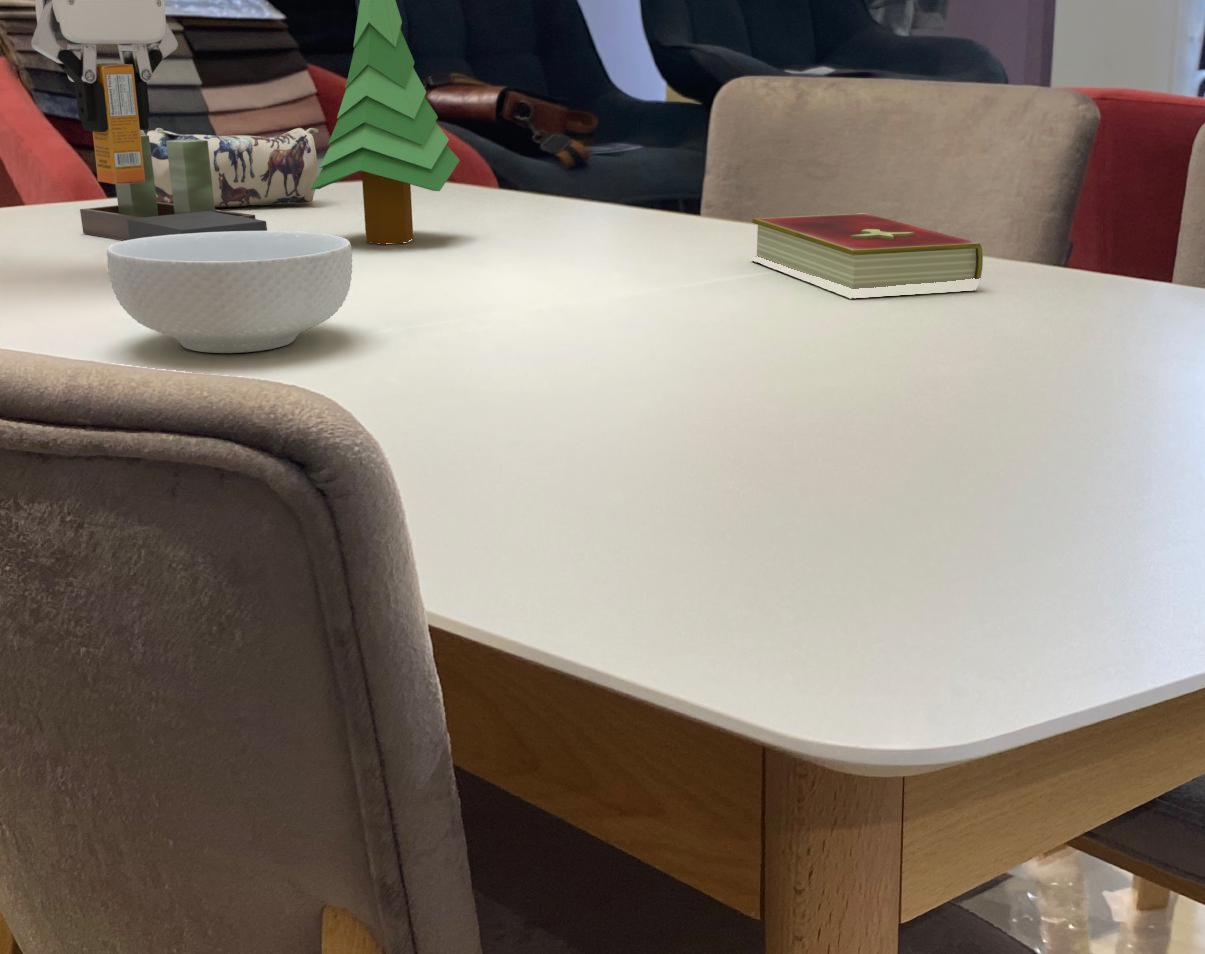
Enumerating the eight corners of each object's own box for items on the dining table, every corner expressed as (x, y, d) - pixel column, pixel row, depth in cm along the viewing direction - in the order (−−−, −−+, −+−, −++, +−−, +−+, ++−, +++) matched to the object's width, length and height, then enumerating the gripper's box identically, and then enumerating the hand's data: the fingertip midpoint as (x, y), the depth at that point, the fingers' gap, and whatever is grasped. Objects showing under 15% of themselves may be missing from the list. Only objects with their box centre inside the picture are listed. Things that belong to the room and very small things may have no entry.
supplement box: (93, 181, 129) (82, 62, 126) (128, 180, 132) (118, 63, 128) (112, 184, 127) (101, 63, 124) (147, 183, 130) (138, 64, 126)
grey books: (197, 297, 121) (190, 231, 119) (125, 282, 128) (117, 219, 126) (290, 282, 127) (284, 219, 125) (216, 269, 134) (210, 209, 132)
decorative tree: (300, 250, 145) (273, -81, 133) (352, 230, 159) (332, -71, 148) (431, 253, 142) (414, -83, 131) (472, 232, 157) (460, -73, 145)
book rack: (181, 250, 146) (169, 145, 142) (83, 233, 158) (69, 136, 154) (257, 240, 152) (248, 139, 148) (157, 224, 164) (146, 131, 160)
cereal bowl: (393, 351, 101) (387, 247, 98) (151, 379, 93) (137, 268, 90) (312, 312, 114) (304, 220, 112) (95, 334, 107) (82, 236, 104)
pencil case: (142, 214, 173) (131, 128, 169) (142, 206, 180) (132, 124, 176) (327, 207, 178) (320, 124, 174) (320, 199, 186) (313, 119, 182)
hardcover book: (866, 254, 140) (869, 209, 138) (980, 291, 121) (984, 239, 120) (751, 261, 137) (752, 215, 135) (849, 299, 118) (853, 246, 116)
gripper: (154, -93, 129) (174, 124, 136) (-25, -106, 118) (6, 131, 125) (202, -96, 124) (220, 128, 131) (20, -109, 113) (50, 137, 120)
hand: (115, 127), depth 128 cm, fingers closed on supplement box, 3 cm apart
